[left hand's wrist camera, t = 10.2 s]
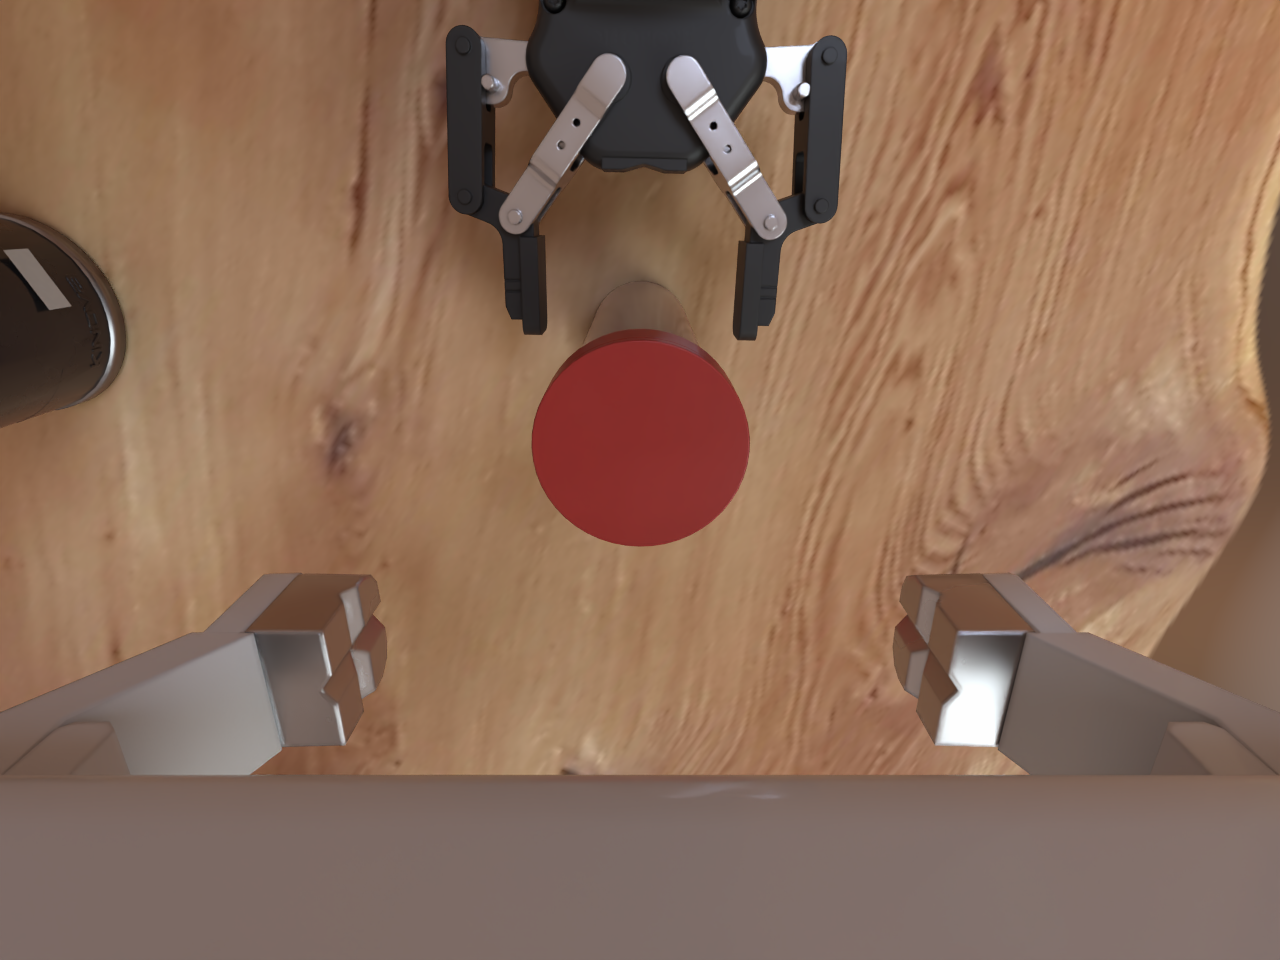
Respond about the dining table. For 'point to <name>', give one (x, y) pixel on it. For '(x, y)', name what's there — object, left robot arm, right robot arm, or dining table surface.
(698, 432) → the lid
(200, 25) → the dining table surface
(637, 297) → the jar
